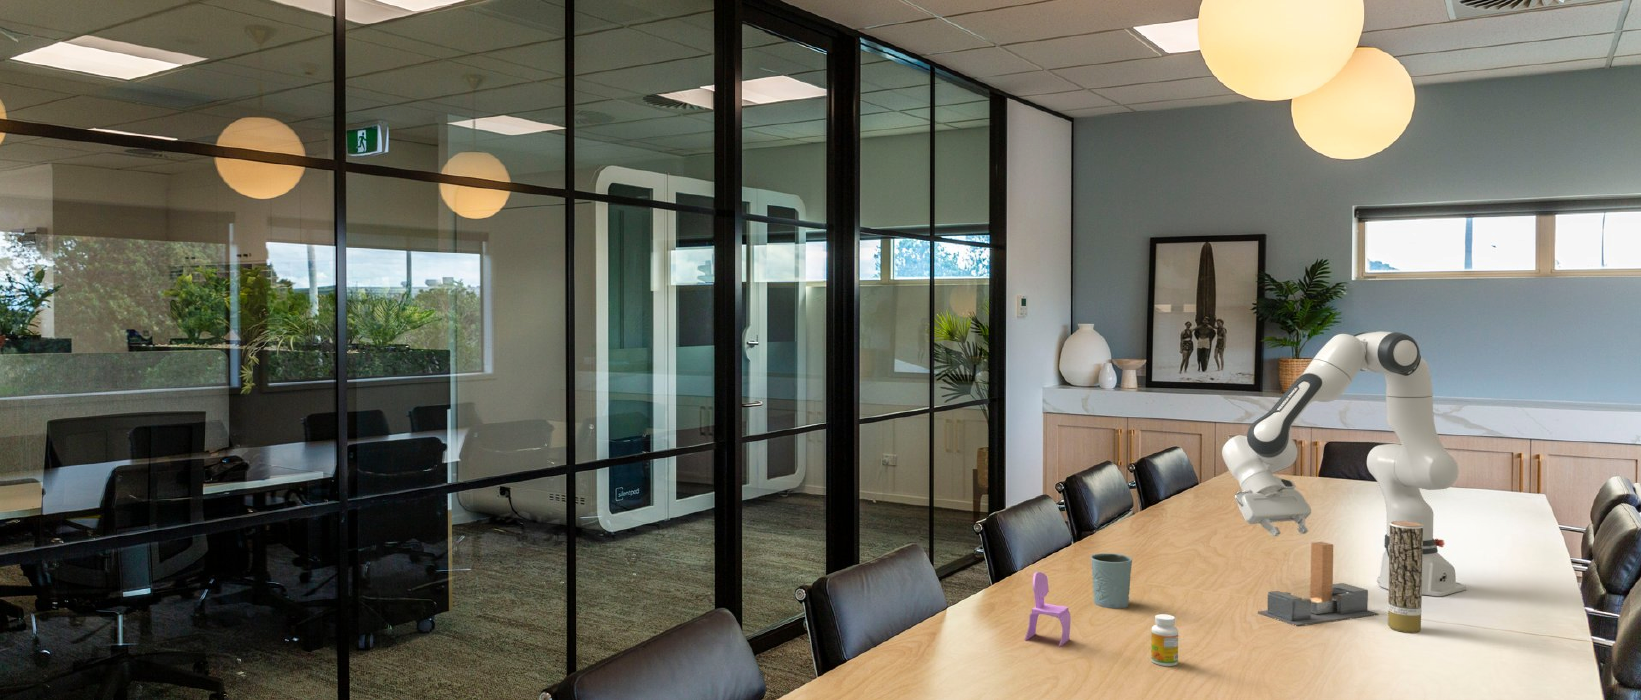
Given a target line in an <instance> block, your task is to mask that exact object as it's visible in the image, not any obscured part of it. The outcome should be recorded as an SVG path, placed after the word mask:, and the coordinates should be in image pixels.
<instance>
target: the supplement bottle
mask: <svg viewBox="0 0 1641 700" xmlns="http://www.w3.org/2000/svg"><path fill="white" fill-rule="evenodd" d="M1154 617H1155V618H1154V623H1155V624H1154V625H1153V626H1152V627H1151V637H1150V638H1151V639H1150V640H1151V645H1150V660H1151V662H1152V663H1153V664H1155V665H1158V666H1162V667H1172V666H1173V667H1175V666H1176V665H1177V664H1178V662H1179V661H1178V660H1179V629H1178V628H1177V627H1176V626H1175V624H1176V617H1175V616H1173V615H1170V614H1165V613H1161V614H1156V615H1155V616H1154Z"/></svg>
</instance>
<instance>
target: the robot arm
mask: <svg viewBox="0 0 1641 700" xmlns="http://www.w3.org/2000/svg"><path fill="white" fill-rule="evenodd" d="M1360 371H1362V372H1365V371H1366V372H1371V373H1382V375H1383V376H1384V379H1385V382H1386V384H1385V385H1386V386H1385V400H1386V401H1385V402H1386V403H1385V404H1386V405H1385V406H1386V407H1385V408H1386V423H1387V425H1388V427H1389V428H1390V429H1391V430H1392V431H1393V432H1394V433H1395V434H1396V437H1398V439H1399V442H1400V444H1399V443H1398V444H1397V443H1388V444H1387V443H1386V444H1378V445H1376V446H1374V447H1373V448H1372V449H1371V450H1370V451H1369V452H1368V454H1367V458H1366V467H1367V470H1368V472H1369V474H1371V475H1372V477H1373V478H1374V479H1375V481H1376V482H1377V484H1378V486H1379V488H1380V490H1381V492H1382V493H1381V494H1382V496H1383V499H1384V503H1385V508H1386V509H1385V510H1386V534H1385V535H1384V539H1383V540H1384V541H1383V543H1384V544H1383V545H1384V548H1385V551H1383V553H1382V556H1381V565H1380V574H1379V576H1377V578H1376V581H1377V582H1378V586H1379V587H1382V588H1384V589H1386V590H1389V540H1390V522H1392V521H1406V522H1414V523H1419V524H1422V525H1423V555H1422V595H1425V596H1433V597H1444V596H1447V595H1451V594H1455V593H1459V592H1463V591H1466V590H1467V586H1466V585H1465V584H1462V583H1460V582H1457V578H1456V577H1457V576H1456V569H1455V567H1454V566H1453V565H1452V564H1451V562H1449V561H1448V560H1446V558H1444V557H1443V556H1442V555H1441V554H1440V553H1439V550H1438V547H1439V548H1444V546H1445V541H1444V540H1443V539H1439V538H1434V516H1435V515H1434V510H1433V508H1432V506H1430V505H1429V504H1428V502H1427V501H1425V499H1424V497H1423V495H1422V493H1421V490H1426V491H1427V490H1428V491H1431V490H1432V491H1433V490H1435V491H1436V490H1438V491H1439V490H1445V489H1446V490H1447V489H1448V488H1450V487H1452V486H1454V484H1455V483H1456V481H1457V478H1458V476H1459V466H1458V463H1457V460H1456V459H1455V458H1454V457H1453V456H1452V455H1451V454H1450V453H1449V452H1448V451H1447V450H1446V449H1445V447H1444V445H1443V443H1442V441H1441V440H1440V437H1439V434H1438V432H1437V429H1436V425H1435V416H1434V401H1433V399H1434V396H1433V392H1434V391H1433V383H1432V377H1431V376H1432V375H1431V372H1430V368H1429V365H1428V362H1427V361H1426V360H1425V359H1424V358H1423V357H1422V356H1421V350H1420V348H1419V345H1418V343H1417V341H1416V340H1415V339H1414V337H1412V336H1410V335H1408V334H1405V333H1402V332H1392V331H1381V330H1380V331H1375V332H1374V331H1371V332H1359V333H1357V334H1354V335H1352V334H1348V333H1339V334H1336V335H1334V336H1333V337H1332V338H1331V339H1330V340H1328V341H1327V342H1326V343H1325V345H1324V346H1323V347H1321V348H1320V350H1319V351H1318V352H1317V353H1316V355H1315V356H1314V358H1313V359H1312V360H1311V362H1310V363H1309V364H1308V365H1307V367H1306V368H1305V370H1304V371H1303V372H1302V374H1301V375H1300V376H1299V377H1298V378H1297V379H1296V380H1294V382H1293V383H1292V384H1291V385H1290V386H1289V387H1288V388H1287V390H1286V391H1285V392H1284V393H1283V394H1282V396H1280V398H1279V399H1278V400H1277V402H1276V403H1275V404H1274V405H1273V406H1272V407H1271V408H1270V410H1269V411H1268V412H1267V413H1266V414H1264V415H1262V416H1260V417H1259V418H1257V419H1256V420H1255V421H1253V422H1252V424H1250V426H1249V428H1248V429H1247V433H1246V435H1242V434H1241V435H1240V434H1237V435H1235V436H1232V437H1231V438H1229V439H1228V440H1227V441H1226V442H1225V444H1224V445H1223V446H1222V450H1221V455H1222V459H1223V461H1224V464H1225V465H1226V467H1227V470H1228V471H1229V472H1230V474H1231V475H1232V477H1233V478H1234V479H1235V480H1236V481H1237V482H1238V484H1239V487H1240V491H1239V490H1238V491H1236V493H1235V494H1234V499H1235V500H1236V502H1237V506H1238V508H1239V511H1240V513H1241V515H1242V517H1243V518H1244V520H1245V522H1246V523H1248V524H1249V525H1259V524H1260V526H1261V527H1262V528H1264V529H1265V530H1267V532H1269V534H1270V535H1271V536H1272V537H1279V535H1280V534H1281V530H1280V529H1279V527H1278V526H1274V524H1273V523H1279V522H1280V523H1282V522H1293V521H1294V522H1295V524H1297V525H1298V527H1297V529H1296V530H1297V531H1298V532H1299V534H1300V535H1304V534H1307V533H1308V532H1309V528H1308V527H1307V525H1306V519H1307V518H1308V517H1310V515H1311V514H1312V508H1311V506H1310V505H1309V503H1308V501H1307V500H1306V498H1305V497H1304V496H1303V495H1302V493H1301V492H1300V491H1299V490H1297V489H1296V484H1295V482H1294V481H1293V480H1290V479H1289V480H1288V479H1285V478H1283V477H1282V478H1281V477H1279V476H1277V475H1274V474H1275V473H1277V472H1280V471H1282V470H1286V469H1288V468H1290V467H1291V466H1292V465H1294V464H1295V462H1296V461H1297V459H1298V455H1299V449H1298V447H1297V445H1296V443H1295V441H1294V439H1293V438H1292V437H1291V428H1292V426H1293V424H1294V423H1295V421H1296V420H1297V419H1298V418H1299V417H1300V416H1301V414H1302V413H1303V412H1304V411H1305V409H1306V408H1307V407H1308V406H1309V405H1310V404H1312V403H1313V402H1322V403H1325V402H1326V403H1328V402H1334V401H1336V400H1337V399H1338V398H1340V396H1342V395H1343V393H1344V392H1345V391H1346V390H1347V389H1348V388H1349V386H1350V384H1351V383H1352V382H1353V380H1354V378H1355V377H1356V375H1357V374H1358V372H1360Z"/></svg>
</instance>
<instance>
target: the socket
mask: <svg viewBox="0 0 1641 700" xmlns="http://www.w3.org/2000/svg"><path fill="white" fill-rule="evenodd" d="M1267 610H1268V611H1267V614H1270V615H1273V616H1276V617H1279V618H1282V619H1285V620H1288V621H1291V622H1292V621H1300V620H1307V619H1311V599H1310V598H1309V597H1307V598H1306V597H1304V598H1302V597H1299V596H1296V595H1293V594H1291V592H1288V591H1284V592H1283V591H1281V590H1280V591H1279V590H1274V591H1273V590H1272V591H1268V593H1267Z"/></svg>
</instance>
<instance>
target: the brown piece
mask: <svg viewBox="0 0 1641 700" xmlns="http://www.w3.org/2000/svg"><path fill="white" fill-rule="evenodd" d="M1310 545H1311V546H1310V547H1311V548H1310V586H1309V587H1310V591H1309V592H1310V593H1309V596H1310V597H1309V599H1311V613H1315V614H1321V613H1329V612H1337V595H1335V596H1332V593H1333V584H1334V582H1333V581H1334V544H1333V543H1329V542H1325V541H1315V542H1311V543H1310Z"/></svg>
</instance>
